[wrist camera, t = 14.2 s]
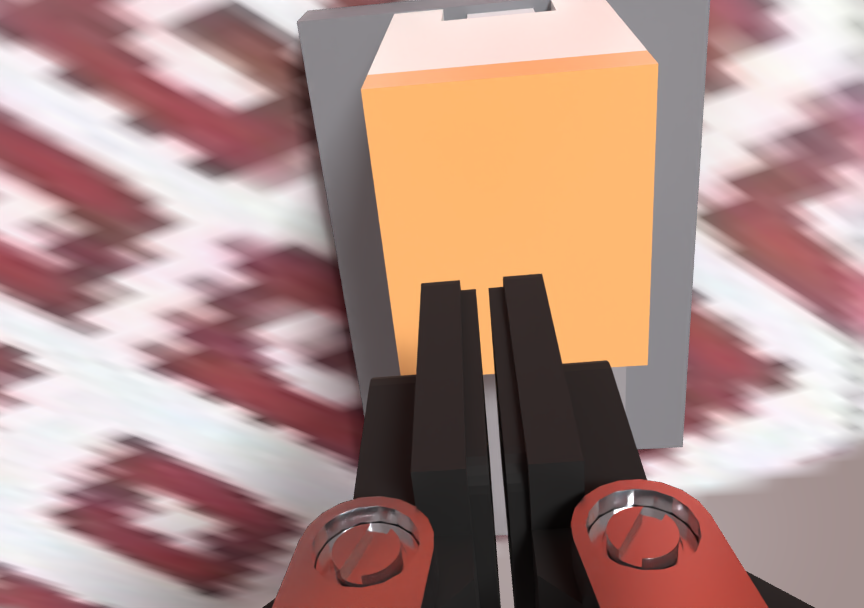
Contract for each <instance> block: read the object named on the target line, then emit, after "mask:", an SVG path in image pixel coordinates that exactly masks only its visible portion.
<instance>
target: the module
mask: <svg viewBox="0 0 864 608" xmlns="http://www.w3.org/2000/svg"><path fill="white" fill-rule="evenodd" d="M657 89H658V63H657V61H656V60H655V59H654V58H653V57H652V55H651V54H650V53H649V52H648V51H647V49H646V48H645V47H644V46H643V45H642V43H641V42H640V41H639V40H638V38H637V37H636V36H635V35H634V34H633V32H632V31H631V30H630V29H629V28H628V26H627V25H626V24H625V23H624V21H623V20H622V19H621V18H620V17H619V15H618V14H617V13H616V12H615V11H614V9H613V8H612V7H611V6H610V5H609V3H608V2H607V1H606V0H551V11H544V12H534V13H523V14H512V15H501V16H491V17H480V18H469V19H458V20H448V21H444V13H443V9H440V10H430V11H419V12H408V13H398V14H394V16H393V18H392V20H391V22H390V25H389V27H388V29H387V32H386V34H385V36H384V38H383V41H382V43H381V45H380V47H379V50H378V52H377V54H376V56H375V59H374V61H373V63H372V65H371V68H370V70H369V72H368V75H367V77H366V79H365V81H364V84H363V86H362V88H361V94H362V101H363V109H364V116H365V123H366V130H367V137H368V144H369V152H370V159H371V166H372V173H373V180H374V188H375V195H376V202H377V209H378V216H379V224H380V231H381V238H382V245H383V252H384V259H385V267H386V274H387V281H388V288H389V295H390V303H391V310H392V317H393V324H394V331H395V339H396V346H397V353H398V360H399V367H400V374H401V375H415V374H416V367H417V349H418V330H419V312H420V294H421V283H430V282H443V281H455V280H460V285H461V290H469V289H476V296H477V308H478V320H479V332H480V344H481V356H482V369H483V375H484V374H495V371H494V358H493V344H492V331H491V317H490V304H489V290H488V288H494V287H503V277H504V276H517V275H529V274H542V275H543V279H544V284H545V288H546V293H547V297H548V302H549V306H550V310H551V315H552V319H553V324H554V328H555V333H556V337H557V342H558V346H559V351H560V355H561V359H562V364H563V363H577V362H590V361H604V360H607V361H608V362H609V363H610V366H611V367H625V366H642V365H648V343H649V315H650V287H651V258H652V230H653V202H654V173H655V145H656V117H657Z"/></svg>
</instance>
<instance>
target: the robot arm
mask: <svg viewBox="0 0 864 608" xmlns="http://www.w3.org/2000/svg"><path fill="white" fill-rule="evenodd" d="M488 290H489V304H490V317H491V331H492V344H493V358H494V371H495V385H496V398H497V412H498V425H499V439H500V452H501V464H502V475H503V486H504V497H505V508H506V519H507V530H508V541H509V552H510V563H511V574H512V585H513V596H514V608H814V607H813V606H811V605H808V604H807V603H805V602H803V601H801V600H799V599H797V598H796V597H794V596H792V595H790V594H788V593H786V592H784V591H782V590H781V589H779V588H777V587H775V586H773V585H771V584H769V583H767V582H765V581H764V580H762V579H760V578H758V577H756V576H754V575H752V574H750V573H748V572H747V571H745V569H744V567H743V566H742V564H741V563H740V561H739V559H738V558H737V556H736V554H735V553H734V551H733V550H732V548H731V546H730V545H729V543H728V542H727V540H726V539H725V537H724V535H723V533H722V532H721V530H720V529H719V527H718V525H717V524H716V522H715V521H714V519H713V517H712V516H711V514H710V513H709V512H708V511H707V510H706V509H705V507H704V506H703V505H702V504H701V503H700V502H699V501H698V500H697V499H695V498H694V497H692V496H690V495H689V494H687V493H686V492H684V491H683V490H681V489H678V488H676V487H673V486H670V485H667V484H665V483H662V482H656V481H649V480H647V479H646V476H645V472H644V469H643V466H642V463H641V460H640V457H639V453H638V450H637V447H636V444H635V441H634V438H633V434H632V431H631V428H630V425H629V422H628V419H627V416H626V412H625V409H624V406H623V403H622V400H621V397H620V393H619V390H618V387H617V384H616V381H615V378H614V374H613V371H612V368H611V366H610V363H609V362H608V361H607V360H604V361H590V362H577V363H563V364H562V359H561V355H560V351H559V346H558V342H557V337H556V333H555V328H554V324H553V319H552V315H551V310H550V306H549V302H548V297H547V293H546V288H545V284H544V279H543V275H542V274H529V275H517V276H504V277H503V287H494V288H488ZM499 592H500V591H499V578H498V564H497V550H496V536H495V522H494V509H493V495H492V481H491V467H490V454H489V441H488V429H487V417H486V405H485V393H484V381H483V369H482V356H481V344H480V332H479V320H478V308H477V296H476V289H469V290H461V285H460V280H455V281H443V282H430V283H421V294H420V312H419V330H418V349H417V367H416V374H415V375H401V376H388V377H374V378H372V379H371V380H370V385H369V391H368V398H367V405H366V412H365V419H364V426H363V434H362V441H361V448H360V455H359V462H358V469H357V476H356V484H355V491H354V498H353V500H350V501H346V502H343V503H340V504H338V505H336V506H334V507H333V508H331V509H329V510H327V511H325V512H323V513H322V514H321V515H320V516H319V517H317V518H316V519H315V520H314V521H313V522H312V523H311V524H310V525H309V526H308V527H307V529H306V530H305V532H304V533H303V535H302V537H301V538H300V540H299V542H298V544H297V547H296V549H295V552H294V554H293V557H292V559H291V562H290V564H289V566H288V569H287V571H286V574H285V576H284V579H283V581H282V584H281V586H280V589H279V591H278V594H277V596H276V598H275V599H274V600H272V601H271V602H270V603H268V604H267V605H266V606H264V607H263V608H501V605H500V593H499Z"/></svg>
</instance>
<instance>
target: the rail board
mask: <svg viewBox="0 0 864 608" xmlns="http://www.w3.org/2000/svg"><path fill="white" fill-rule="evenodd" d="M606 1H607V2H608V3H609V5H610V6H611V7H612V8H613V9H614V11H615V12H616V13H617V14H618V15H619V17H620V18H621V19H622V20H623V21H624V23H625V24H626V25H627V26H628V28H629V29H630V30H631V31H632V32H633V34H634V35H635V36H636V37H637V38H638V40H639V41H640V42H641V43H642V45H643V46H644V47H645V48H646V49H647V51H648V52H649V53H650V54H651V55H652V57H653V58H654V59H655V60H656V61H657V63H658V89H657V117H656V145H655V173H654V202H653V230H652V258H651V287H650V315H649V343H648V365H642V366H625V367H611V368H612V371H613V374H614V378H615V381H616V384H617V387H618V390H619V393H620V397H621V400H622V403H623V406H624V409H625V412H626V416H627V419H628V422H629V425H630V428H631V431H632V434H633V438H634V441H635V444H636V447H637V449H652V448H672V447H683V431H684V415H685V399H686V382H687V366H688V350H689V334H690V318H691V301H692V285H693V269H694V253H695V237H696V220H697V204H698V188H699V172H700V156H701V139H702V123H703V107H704V91H705V75H706V59H707V42H708V26H709V10H710V0H606ZM440 9H443V13H444V21H448V20H458V19H469V18H480V17H491V16H501V15H512V14H523V13H534V12H544V11H551V0H415V1H404V2H394V3H384V4H373V5H363V6H353V7H342V8H332V9H322V10H311V11H307V12H306V13H305V14H304V15H303V16H302V17H301V18H300V19H299V20H298V21H297V25H298V31H299V37H300V43H301V49H302V55H303V60H304V66H305V72H306V78H307V84H308V90H309V95H310V101H311V107H312V113H313V119H314V125H315V130H316V136H317V142H318V148H319V154H320V160H321V165H322V171H323V177H324V183H325V189H326V195H327V201H328V206H329V212H330V218H331V224H332V230H333V236H334V241H335V247H336V253H337V259H338V265H339V271H340V276H341V282H342V288H343V294H344V300H345V306H346V311H347V317H348V323H349V329H350V335H351V341H352V347H353V352H354V358H355V364H356V370H357V376H358V382H359V387H360V393H361V399H362V405H363V411H364V417H365V412H366V405H367V398H368V391H369V385H370V380H371V379H372V378H374V377H388V376H401V374H400V367H399V360H398V353H397V346H396V339H395V331H394V324H393V317H392V310H391V303H390V295H389V288H388V281H387V274H386V267H385V259H384V252H383V245H382V238H381V231H380V224H379V216H378V209H377V202H376V195H375V188H374V180H373V173H372V166H371V159H370V152H369V144H368V137H367V130H366V123H365V116H364V109H363V101H362V94H361V88H362V86H363V84H364V81H365V79H366V77H367V75H368V72H369V70H370V68H371V65H372V63H373V61H374V59H375V56H376V54H377V52H378V50H379V47H380V45H381V43H382V41H383V38H384V36H385V34H386V32H387V29H388V27H389V25H390V22H391V20H392V18H393V16H394V14H398V13H408V12H419V11H430V10H440ZM483 381H484V393H485V405H486V417H487V429H488V441H489V454H490V467H491V481H492V495H493V509H494V522H495V535H508V530H507V519H506V508H505V497H504V486H503V475H502V464H501V452H500V439H499V425H498V412H497V398H496V385H495V374H484V375H483Z"/></svg>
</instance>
